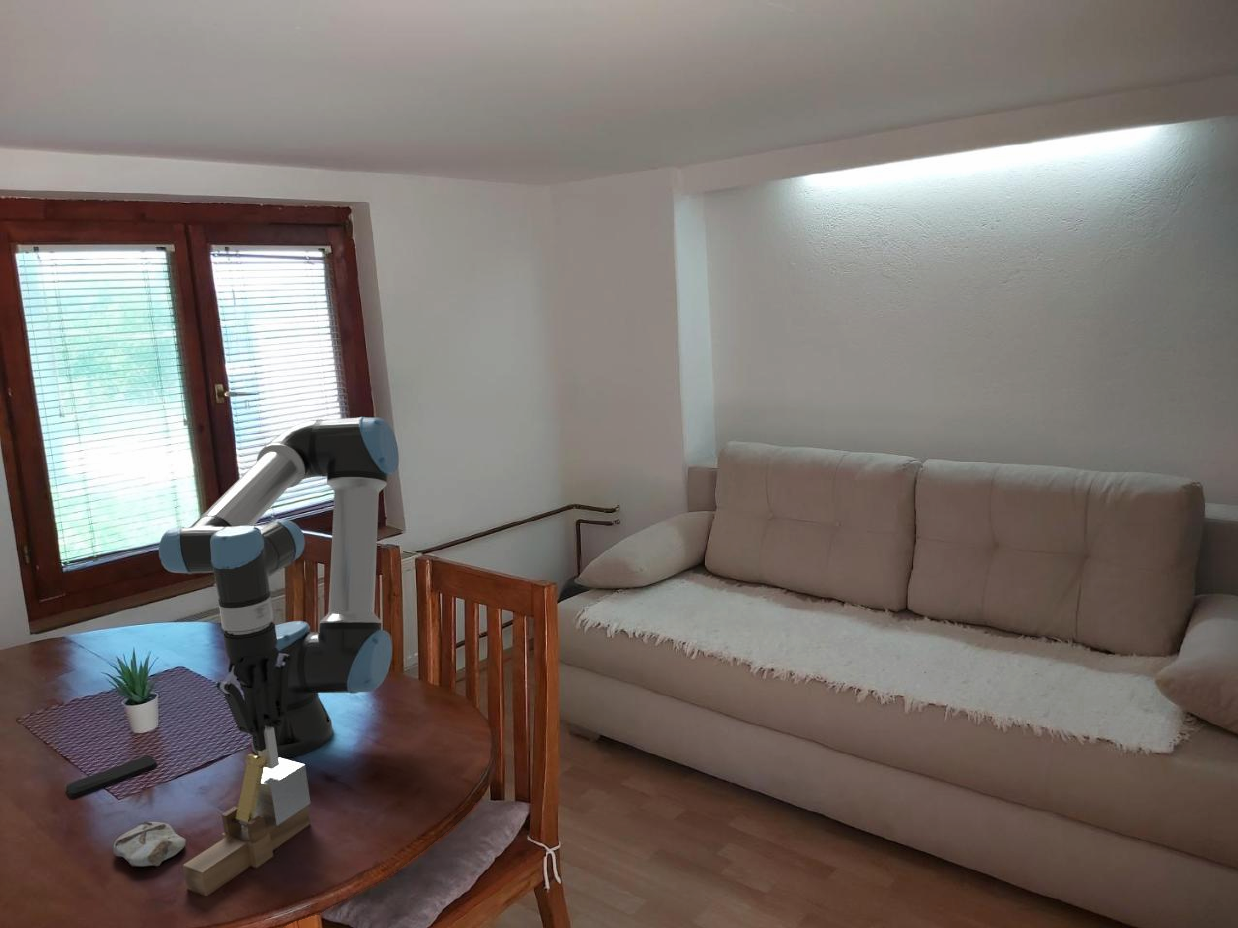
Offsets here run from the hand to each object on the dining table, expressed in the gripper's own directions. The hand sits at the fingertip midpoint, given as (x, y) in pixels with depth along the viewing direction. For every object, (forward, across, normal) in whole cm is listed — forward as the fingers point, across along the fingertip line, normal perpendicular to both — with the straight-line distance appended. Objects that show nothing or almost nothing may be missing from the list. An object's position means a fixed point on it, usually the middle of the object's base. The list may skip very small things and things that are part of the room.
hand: (269, 764), depth 148 cm
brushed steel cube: (+9, +1, 0) cm, 9 cm away
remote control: (+13, +1, +46) cm, 47 cm away
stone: (+13, -12, +17) cm, 24 cm away
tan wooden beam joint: (+13, -5, 0) cm, 14 cm away
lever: (+7, -6, 0) cm, 9 cm away
